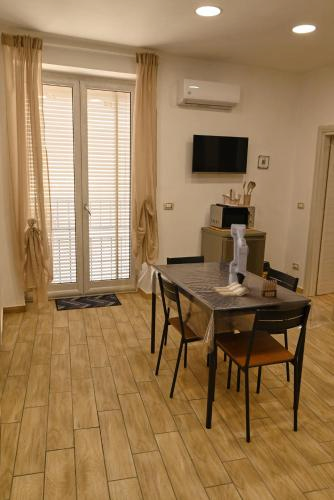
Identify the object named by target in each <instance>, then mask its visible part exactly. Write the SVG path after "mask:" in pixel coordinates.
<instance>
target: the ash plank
mask: <svg viewBox="0 0 334 500" xmlns="http://www.w3.org/2000/svg"><path fill="white" fill-rule="evenodd" d="M225 287H226V288H228V289H229V290H231V291H232V292H234V293H235V294H236V295H237V296H236V297H242V296H243V295H245V294H247V293H249V292H250V290H249V288H248V287H246V286H244V285H243V284H238V282H234V283H232V284H231V285H230V284H228V285H227V286H225Z"/></svg>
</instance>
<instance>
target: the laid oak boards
mask: <svg viewBox="0 0 334 500" xmlns="http://www.w3.org/2000/svg"><path fill="white" fill-rule="evenodd" d="M226 287H227V286H216V287H215V286H214V287H212V289H213V290H214V291H215V292H217V293H218V294H219V295H220V296H222V297H223V298H230V297H231V298H232V297H238V296H237V295H236V294H235V293H234V292H232V291H231V290H229V289H228V288H226Z"/></svg>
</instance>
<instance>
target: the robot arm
mask: <svg viewBox="0 0 334 500" xmlns="http://www.w3.org/2000/svg"><path fill="white" fill-rule="evenodd" d="M246 231H247V225H246V224H237V223H235V224H234V223H232V224H231V225H230V236H231V237H232V239H233V260H232V261H230V262H229V268H228V271H229V275H228V285H231V284H232V283H234V282H238V284H241V285H243V283H244V280H245V278H246V277H248V276H249V275H248V272H247V260H248V259H247V258H248V255H249V252H250V250H249V246H248V245H247V241H246V238H245V234H246Z"/></svg>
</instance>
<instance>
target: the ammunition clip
mask: <svg viewBox="0 0 334 500" xmlns="http://www.w3.org/2000/svg"><path fill="white" fill-rule="evenodd" d="M277 285H278V281H277V279H271V280H270V279H266V280H265V279H263V283H262V288H261V294H260V296H261V297H262V298H265V297H266V298H267V297H273V298H277V297H278V296H277V294H278V293H277V292H278V290H277V289H278V287H277Z"/></svg>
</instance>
